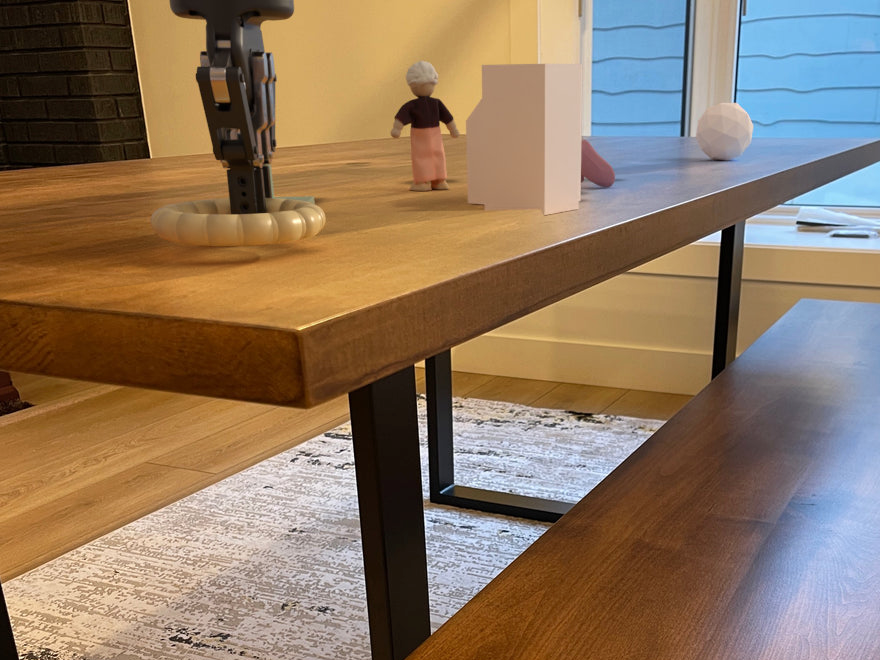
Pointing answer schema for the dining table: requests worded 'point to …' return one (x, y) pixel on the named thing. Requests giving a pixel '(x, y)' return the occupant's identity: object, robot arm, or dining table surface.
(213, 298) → the dining table surface
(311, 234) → the bracelet
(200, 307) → the dining table surface
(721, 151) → the geometric ball
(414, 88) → the grandmother figurine
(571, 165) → the white angular block
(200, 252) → the dining table surface
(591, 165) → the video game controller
